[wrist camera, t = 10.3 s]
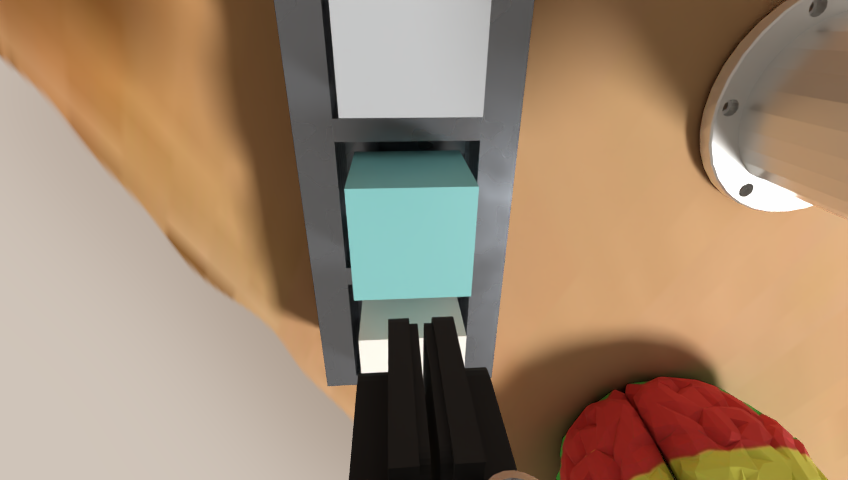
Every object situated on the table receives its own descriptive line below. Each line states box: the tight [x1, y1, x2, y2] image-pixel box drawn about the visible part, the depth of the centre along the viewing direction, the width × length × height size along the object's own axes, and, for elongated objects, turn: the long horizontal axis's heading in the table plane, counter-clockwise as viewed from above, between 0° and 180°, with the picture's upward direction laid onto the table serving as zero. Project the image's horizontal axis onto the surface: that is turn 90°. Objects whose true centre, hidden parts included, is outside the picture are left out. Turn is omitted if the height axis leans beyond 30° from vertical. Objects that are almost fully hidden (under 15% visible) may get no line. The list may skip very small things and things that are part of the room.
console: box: [274, 0, 534, 386], centre depth 22 cm, size 10×23×5 cm, turn 0°
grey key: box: [329, 0, 491, 118], centre depth 15 cm, size 5×5×5 cm
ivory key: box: [358, 297, 467, 374], centre depth 22 cm, size 5×5×5 cm
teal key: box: [344, 150, 479, 301], centre depth 19 cm, size 5×5×5 cm
